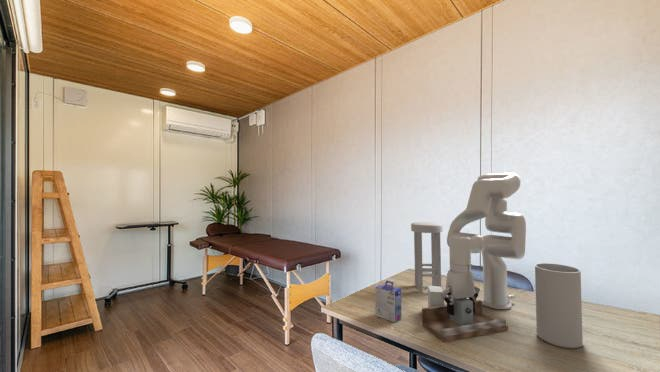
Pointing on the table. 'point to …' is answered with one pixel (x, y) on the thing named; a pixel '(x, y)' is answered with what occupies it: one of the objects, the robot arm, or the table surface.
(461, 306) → the cabinet block
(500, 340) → the table surface
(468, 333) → the wooden ridged tray
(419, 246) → the stool
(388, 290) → the ink cartridge box
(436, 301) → the small box
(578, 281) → the cylinder vase
